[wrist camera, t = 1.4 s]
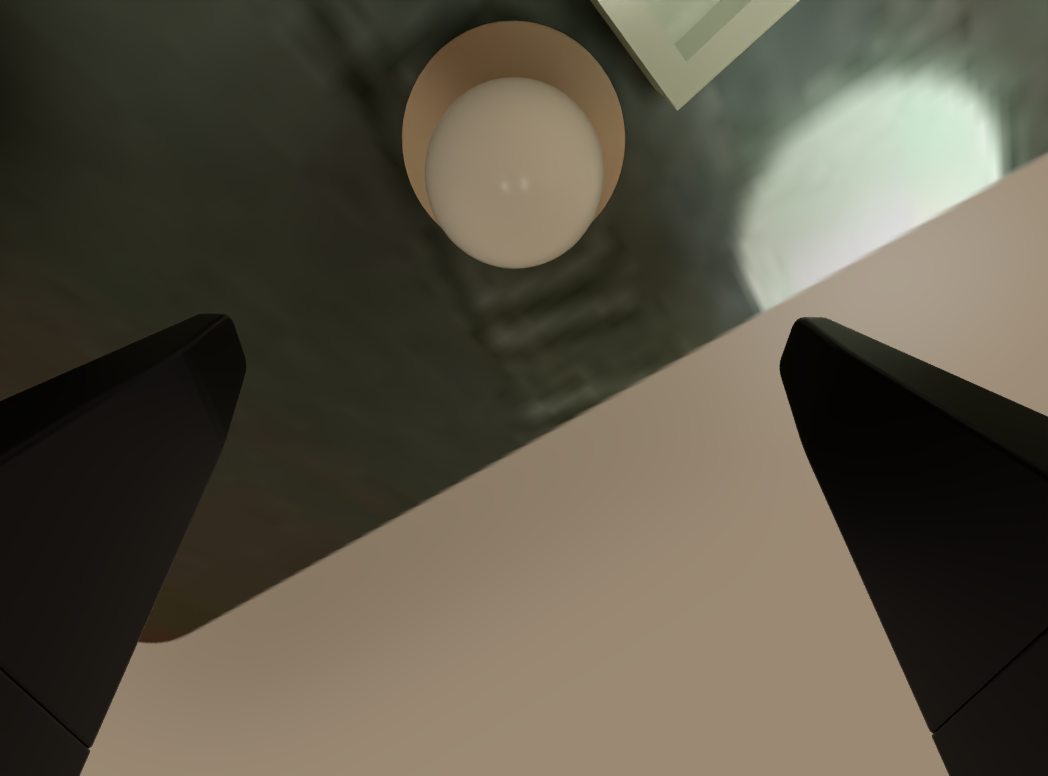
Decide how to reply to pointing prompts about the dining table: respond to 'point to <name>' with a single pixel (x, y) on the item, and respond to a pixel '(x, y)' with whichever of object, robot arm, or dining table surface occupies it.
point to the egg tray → (687, 37)
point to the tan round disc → (512, 55)
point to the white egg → (514, 172)
